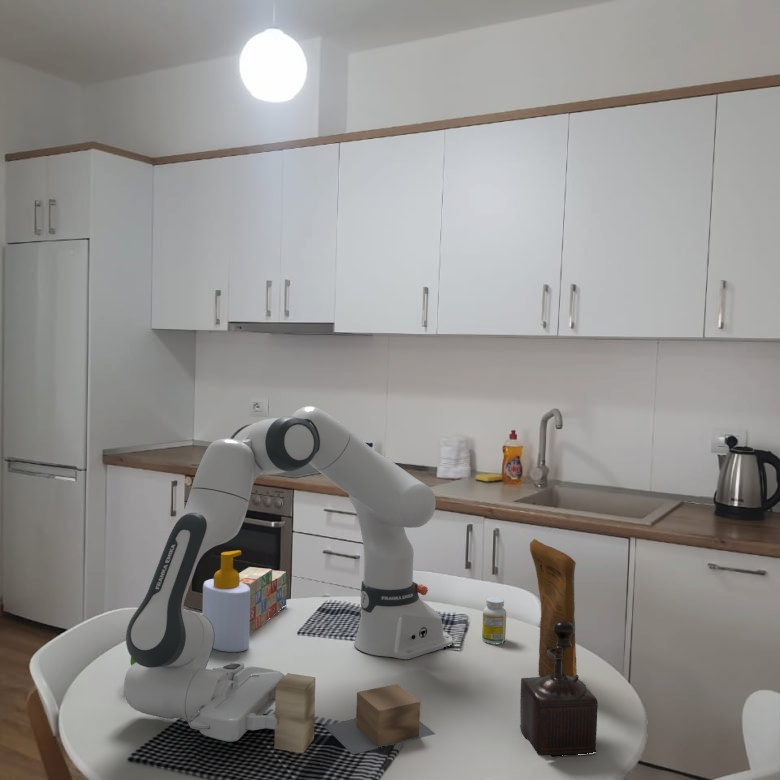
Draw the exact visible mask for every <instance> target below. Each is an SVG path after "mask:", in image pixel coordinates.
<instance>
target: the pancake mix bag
mask: <svg viewBox="0 0 780 780" xmlns="http://www.w3.org/2000/svg"><path fill="white" fill-rule="evenodd" d="M529 552H530V555H531V558H532V560H533V564H534V567H535V573H536V579H537V587H538V592H539V601H540V624H539V645H538V647H539V648H538V650H539V651H538V652H539V654H538V655H539V656H538V657H539V658H538V669H537V670H538V672H539V674H540V675H541V677H546V676H548V675H552V674H556V659H552V658H551V657H549V656H548V655H547V650H549V649H553V648H556V647H557V646H556V644H557V642H558V638H557V636H556V634H555V633H554V631H553V627H554V625H555V623H557V622H559V621H567V622H570V623H571V624H572V625H573V627H574V633H573V634H572V636H571V638H570V643H571V645H572V646H571V647H569V648H567V649H566V650H565V651H563V652H562V655H563V659H562V665H561V674H563V673H564V674H565V675H567V676H576V675H578V672H577V671H578V670H577V652H576V622H575V609H576V607H575V606H576V605H575V604H576V603H575V573H576V572H575V569H576V565H577V562H576V561H575V560H574V558H572V556H570V555H568V554H566V553H565V552H563V551H561V550H559V549H557V548H555V547H552V546H550V545H546V544H544V543H542V542H540V541H539V540H537V539H535V538H534V539H532V541H530V543H529ZM553 654H556V653H553ZM539 674H538V675H539ZM540 675H539V676H540Z"/></svg>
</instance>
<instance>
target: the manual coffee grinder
mask: <svg viewBox="0 0 780 780" xmlns="http://www.w3.org/2000/svg"><path fill="white" fill-rule="evenodd" d="M553 631H554V633H555V634H556V636H557V638H558V642H557V644H556V646H557V647H556V648H553V649H549V650H547V655H548V656H549V657H551V658H552V659H556V674H552V675H548V676H546V677H540V676H535V677H534V676H533V677H532V676H531V677H522V678H521V680H520V701H519V702H520V704H519V705H520V710H519V711H520V712H519V714H520V716H519V717H520V718H519V719H520V724H519V727H520V732H521V734H522V735H523V737H524V739H525V740H527V741H528V742H529V744H531V746H532V748H533V749H534V751H535V752H536V754H537V755H538V756H550V757H552V758H555V757H554V756H561V757H565V756H564V755H578V754H587V753H588V754H589V753H593V752H597V731H598V728H597V727H598V707H599V706H598V704H599V703H598V699H597V698H596V697H595V695H594V694H593V693H592V692H591V691H590V689H588V687H587V685H586V683H584V682H583V681H582V680H580V679H579V675H578V674H577V675H576V676H567V675H565V674H564V673H563V674H561V665H562V659H563V655H562V652H563V651H565V650H566V649H567V648H569V647H571V646H572V645H571V643H570V638H571V636H572V634H573V633H574V627H573V625H572V624H571V623H570V622H567V621H559V622H557V623H555V625H554V627H553ZM553 653H556V654H553ZM562 755H563V756H562Z"/></svg>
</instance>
